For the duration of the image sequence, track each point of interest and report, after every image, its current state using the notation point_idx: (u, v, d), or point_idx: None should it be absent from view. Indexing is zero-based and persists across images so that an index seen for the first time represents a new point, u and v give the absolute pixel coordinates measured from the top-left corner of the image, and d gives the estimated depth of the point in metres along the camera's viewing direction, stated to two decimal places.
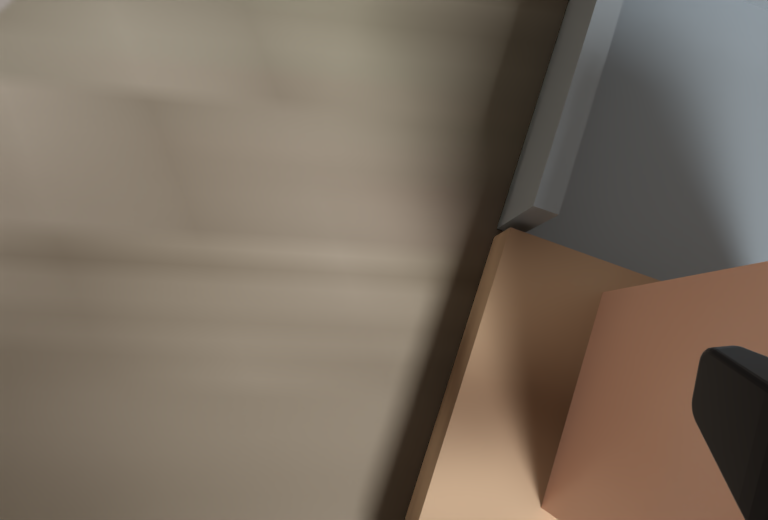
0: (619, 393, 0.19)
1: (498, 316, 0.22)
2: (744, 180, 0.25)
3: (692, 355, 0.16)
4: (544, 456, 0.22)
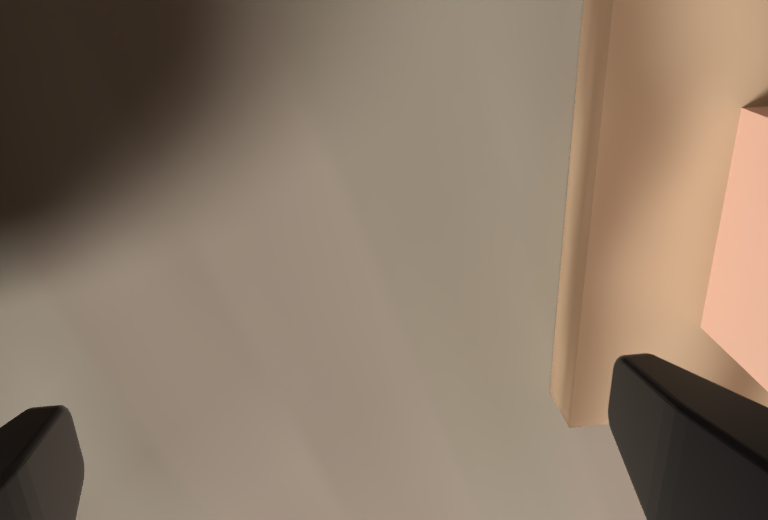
0: None
1: None
2: None
3: None
4: None
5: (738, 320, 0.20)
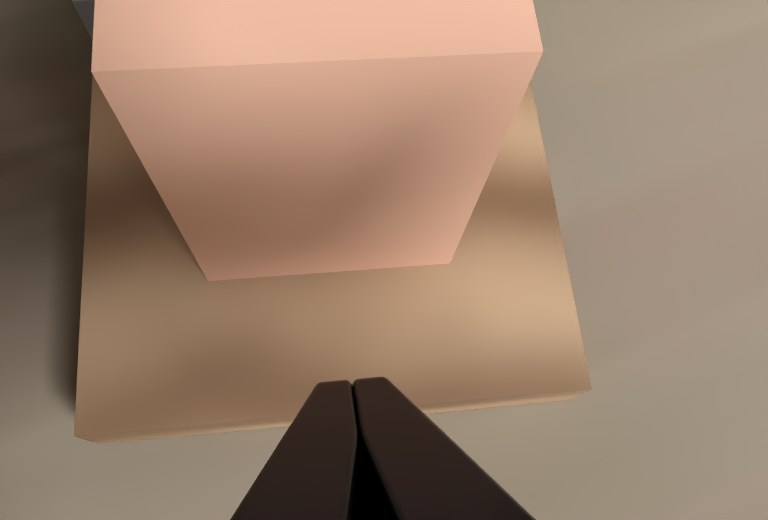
0: None
1: (105, 129, 0.21)
2: None
3: None
4: None
5: (414, 244, 0.19)
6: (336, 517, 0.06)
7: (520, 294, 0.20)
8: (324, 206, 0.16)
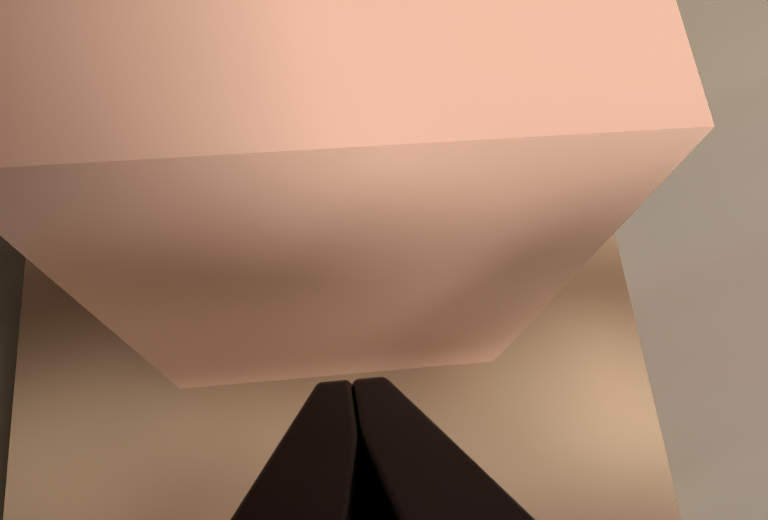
0: None
1: None
2: None
3: None
4: None
5: (452, 347, 0.14)
6: (336, 517, 0.06)
7: (586, 402, 0.16)
8: (333, 318, 0.11)
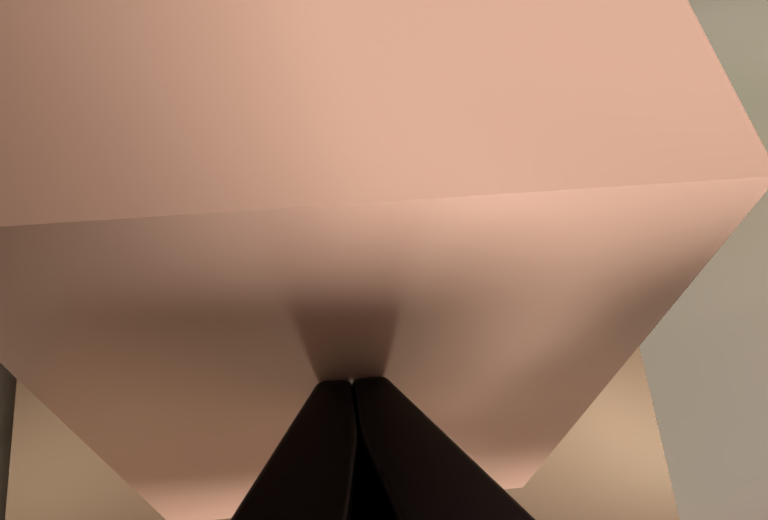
0: None
1: (33, 459, 0.15)
2: None
3: None
4: None
5: None
6: (336, 517, 0.06)
7: None
8: None
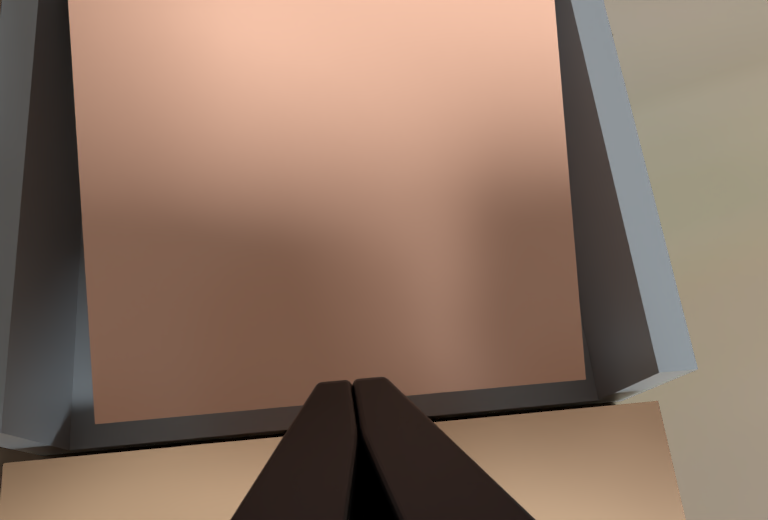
0: None
1: None
2: None
3: None
4: None
5: (494, 266, 0.10)
6: (336, 517, 0.06)
7: None
8: (318, 83, 0.10)
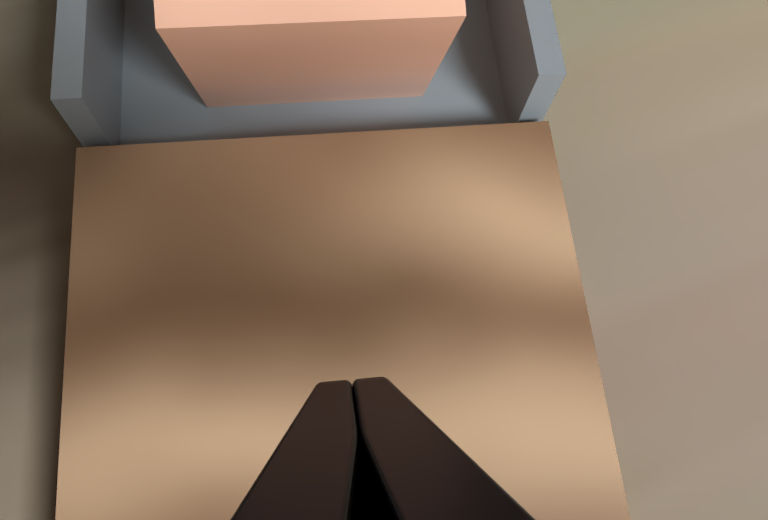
0: None
1: (89, 238, 0.19)
2: None
3: None
4: (189, 360, 0.18)
5: None
6: (336, 517, 0.06)
7: (553, 428, 0.18)
8: None
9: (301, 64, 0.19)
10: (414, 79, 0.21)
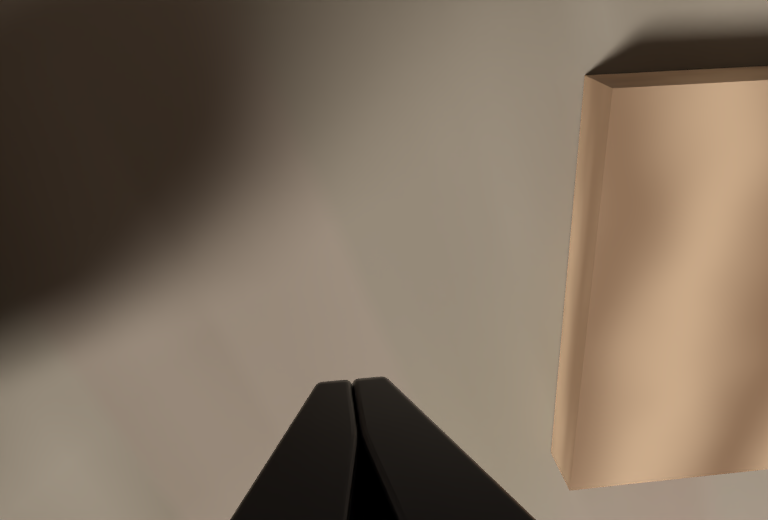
0: None
1: None
2: None
3: None
4: None
5: None
6: (336, 517, 0.06)
7: (654, 447, 0.24)
8: None
9: None
10: None
